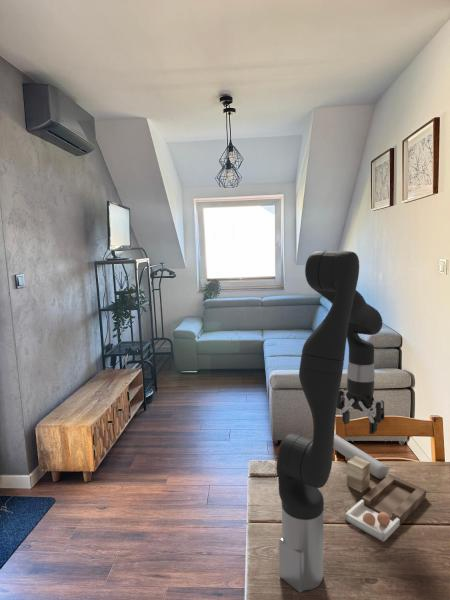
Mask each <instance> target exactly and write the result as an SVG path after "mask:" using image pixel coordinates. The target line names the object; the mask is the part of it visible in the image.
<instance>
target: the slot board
mask: <svg viewBox="0 0 450 600" xmlns="http://www.w3.org/2000/svg"><path fill="white" fill-rule="evenodd" d="M426 498H427V490H426V489H424V488H422V487H419V486H417V485H414V484H413V483H411V482H408V481H406V480H404V479H401V478H399V477H397V476H395V475H392V474H389V473H388V475H387V476H386V477H385V478H384V479H381V481H380V482H379V483H377V485H375V486H374V487H373V488H372V489H370V490H369V491H368V492H367V493H365V495H363V496H362V499H361V500H364V506H366V507H368V508H370V509H371V510H373V511H375V512H377V513H380V512H385V513H387V514H388V515H389V517H390V520H392V521H394V520H395V519H396V518H399V519H400V525H399V526H401V525H402V524H403V523H404V522H405V521H406V520H407V519H408V517H409V516H410V515H411V514H412V513H413V512H414V511H415V510H416V509H417V508H418V507H419V506H420V505H421V504H423V502H424V501H425V500H426Z"/></svg>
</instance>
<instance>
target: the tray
mask: <svg viewBox="0 0 450 600" xmlns="http://www.w3.org/2000/svg"><path fill="white" fill-rule="evenodd" d="M365 513H371V514H372V515H373V516H374V517H375V524H374V525H373V526H371V525H369V524H367V523H365V522H364V521H363V515H364V514H365ZM378 514H379V513H377V512H375V511H373V510H371V509H370V508H368V507H366V506H364V500H362V499H360V500H359V501H358V502H357V503H356V504H354V505H353V506H352V507H351V508H350V509H348V511H346V512H345V513H344V521H346V522H347V523H350V525H353V526H355V527H356V528H358V529H359V530H362V531H363V532H365V533H367V534H368V535H370V536H371V537H374V538H375V539H377V540H379V541H381V542H382V543H384V542H385V541H387V539H388V538H389V537H390V536H392V534H393V533H394V532H395V531H396V530H397V529H398V528H399V527H400V526H401V525H400V519H399V518H396V519H395V520H394V521H392V520H390V523H389V524H388V525H386V526H383V525H381V524H380V523H379V522H378V520H377V516H378Z"/></svg>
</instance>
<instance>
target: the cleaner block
mask: <svg viewBox="0 0 450 600" xmlns="http://www.w3.org/2000/svg"><path fill="white" fill-rule="evenodd" d="M346 466H347V467H346V486H347V487H349V488H351V489H354V490H355V491H357V492H359V493H363V492H364V491H366V490H367V489H368V488H370V481H371V477H370V476H371V475H370V474H371V473H370V462H368V461H366V460H363V459H361V458H359V457H357V456H355V457H353V458H352V459H349V460H347V462H346Z"/></svg>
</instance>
